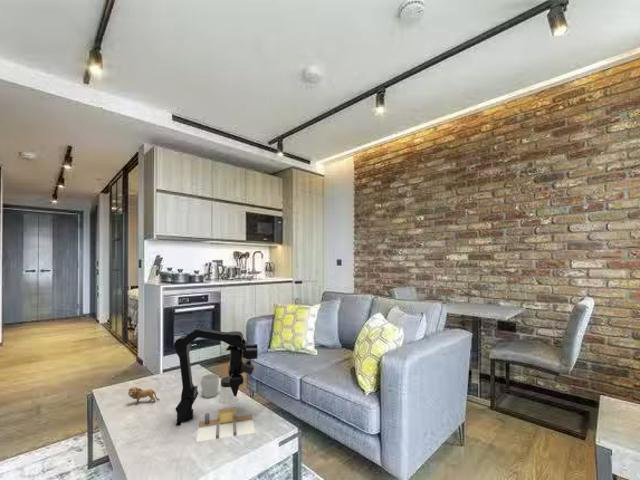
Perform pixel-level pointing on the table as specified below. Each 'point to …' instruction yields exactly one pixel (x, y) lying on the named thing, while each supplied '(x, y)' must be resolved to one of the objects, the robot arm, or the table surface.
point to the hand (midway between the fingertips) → (234, 391)
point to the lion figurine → (141, 394)
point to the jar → (226, 392)
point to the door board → (224, 428)
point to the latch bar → (226, 415)
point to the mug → (210, 385)
